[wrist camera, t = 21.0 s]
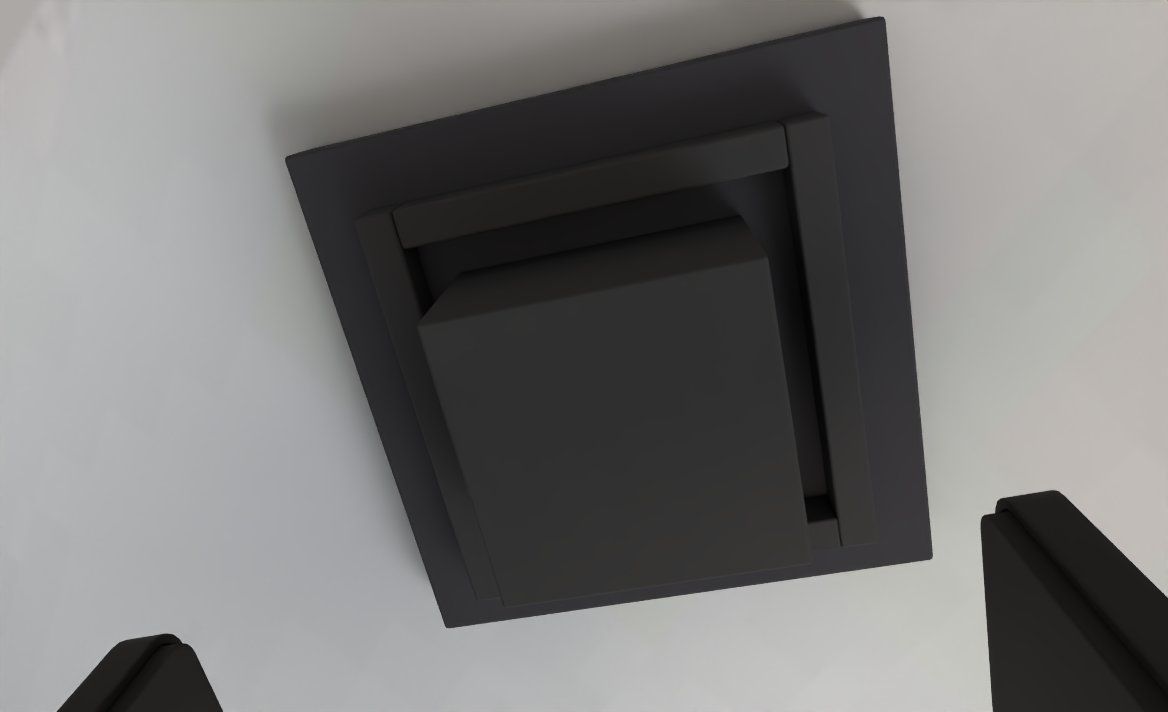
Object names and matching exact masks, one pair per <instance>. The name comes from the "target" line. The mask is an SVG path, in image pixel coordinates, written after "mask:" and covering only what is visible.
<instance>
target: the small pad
mask: <svg viewBox="0 0 1168 712" xmlns="http://www.w3.org/2000/svg"><path fill="white" fill-rule="evenodd" d="M417 329H418V333H419V336H420V339H421V342H422V346H423V349H424V352H425V355H426V358H427V362H428V365H429V368H430V371H431V375H432V378H433V381H434V384H435V387H436V391H437V394H438V397H439V400H440V403H441V407H442V410H443V413H444V416H445V420H446V423H447V426H448V429H449V432H450V436H451V439H452V442H453V445H454V449H455V452H456V455H457V458H458V461H459V465H460V468H461V471H462V474H463V478H464V481H465V484H466V487H467V490H468V494H469V497H470V500H471V503H472V507H473V510H474V513H475V516H476V519H477V523H478V526H479V529H480V532H481V536H482V539H483V542H484V545H485V548H486V552H487V555H488V558H489V561H490V564H491V568H492V571H493V574H494V577H495V581H496V584H497V587H498V590H499V593H500V597H501V600H502V603H503V606H504V607H505V608H510V607H517V606H524V605H531V604H538V603H545V602H552V601H559V600H566V599H573V598H580V597H586V596H593V595H600V594H607V593H614V592H621V591H628V590H635V589H642V588H649V587H656V586H662V585H669V584H676V583H683V582H690V581H697V580H704V579H711V578H718V577H725V576H731V575H738V574H745V573H752V572H759V571H766V570H773V569H780V568H787V567H794V566H801V565H807V564H811V563H812V560H813V557H812V550H811V544H810V537H809V530H808V524H807V517H806V510H805V503H804V497H803V490H802V483H801V476H800V470H799V463H798V456H797V449H796V443H795V436H794V429H793V422H792V416H791V409H790V402H789V396H788V389H787V382H786V375H785V369H784V362H783V355H782V348H781V342H780V335H779V328H778V321H777V315H776V308H775V301H774V294H773V288H772V281H771V274H770V268H769V261H768V257H767V256H766V254H765V252H764V251H763V249H762V248H761V246H760V244H759V243H758V241H757V240H756V238H755V236H754V235H753V233H752V232H751V230H750V228H749V227H748V225H747V224H746V222H745V220H744V219H743V217H742V216H741V215H737V216H732V217H727V218H722V219H717V220H712V221H708V222H703V223H698V224H693V225H688V226H683V227H679V228H674V229H669V230H664V231H659V232H654V233H650V234H645V235H640V236H635V237H630V238H625V239H620V240H616V241H611V242H606V243H601V244H596V245H591V246H587V247H582V248H577V249H572V250H567V251H562V252H558V253H553V254H548V255H543V256H538V257H533V258H529V259H524V260H519V261H514V262H509V263H504V264H500V265H495V266H490V267H485V268H480V269H475V270H471V271H466V272H461V273H459V274H458V275H457V277H456V278H455V279H454V280H453V282H452V283H451V284H450V285H449V286H448V288H447V289H446V290H445V291H444V292H443V294H442V295H441V296H440V297H439V299H438V300H437V301H436V302H435V303H434V305H433V306H432V307H431V308H430V310H429V311H428V312H427V313H426V314H425V316H424V317H423V318H422V319H421V320H420V322H419V323H418V324H417Z"/></svg>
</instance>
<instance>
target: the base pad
mask: <svg viewBox="0 0 1168 712" xmlns="http://www.w3.org/2000/svg"><path fill="white" fill-rule="evenodd" d="M285 162H286V165H287V168H288V171H289V173H290V176H291V179H292V182H293V185H294V188H295V191H296V194H297V197H298V200H299V203H300V205H301V208H302V211H303V214H304V217H305V220H306V223H307V226H308V229H309V232H310V235H311V237H312V240H313V243H314V246H315V249H316V252H317V255H318V258H319V261H320V264H321V266H322V269H323V272H324V275H325V278H326V281H327V284H328V287H329V290H330V293H331V296H332V298H333V301H334V304H335V307H336V310H337V313H338V316H339V319H340V322H341V325H342V327H343V330H344V333H345V336H346V339H347V342H348V345H349V348H350V351H351V354H352V357H353V359H354V362H355V365H356V368H357V371H358V374H359V377H360V380H361V383H362V386H363V389H364V391H365V394H366V397H367V400H368V403H369V406H370V409H371V412H372V415H373V418H374V420H375V423H376V426H377V429H378V432H379V435H380V438H381V441H382V444H383V447H384V450H385V452H386V455H387V458H388V461H389V464H390V467H391V470H392V473H393V476H394V479H395V481H396V484H397V487H398V490H399V493H400V496H401V499H402V502H403V505H404V508H405V511H406V513H407V516H408V519H409V522H410V525H411V528H412V531H413V534H414V537H415V540H416V543H417V545H418V548H419V551H420V554H421V557H422V560H423V563H424V566H425V569H426V572H427V574H428V577H429V580H430V583H431V586H432V589H433V592H434V595H435V598H436V601H437V604H438V606H439V609H440V612H441V615H442V618H443V621H444V624H445V627H446V628H455V627H462V626H469V625H476V624H483V623H490V622H497V621H504V620H511V619H518V618H525V617H532V616H539V615H546V614H553V613H560V612H567V611H574V610H581V609H588V608H595V607H602V606H609V605H616V604H623V603H630V602H637V601H644V600H651V599H658V598H665V597H672V596H679V595H686V594H693V593H700V592H707V591H714V590H721V589H728V588H735V587H742V586H749V585H756V584H763V583H770V582H777V581H784V580H791V579H798V578H805V577H812V576H819V575H826V574H833V573H840V572H847V571H854V570H861V569H868V568H875V567H882V566H889V565H896V564H903V563H910V562H917V561H924V560H930V559H932V557H933V553H932V541H931V530H930V519H929V507H928V496H927V485H926V473H925V462H924V451H923V440H922V428H921V417H920V406H919V394H918V383H917V372H916V361H915V349H914V338H913V327H912V315H911V304H910V293H909V281H908V270H907V259H906V248H905V236H904V225H903V214H902V202H901V191H900V180H899V169H898V157H897V146H896V135H895V123H894V112H893V101H892V89H891V78H890V67H889V56H888V44H887V33H886V22H885V19H884V17H880V16H879V17H873V18H866V19H862V20H857V21H853V22H849V23H845V24H840V25H836V26H832V27H828V28H823V29H819V30H815V31H811V32H806V33H802V34H798V35H794V36H790V37H785V38H781V39H777V40H773V41H768V42H764V43H760V44H756V45H751V46H747V47H743V48H739V49H734V50H730V51H726V52H722V53H717V54H713V55H709V56H705V57H700V58H696V59H692V60H688V61H683V62H679V63H675V64H671V65H666V66H662V67H658V68H654V69H649V70H645V71H641V72H637V73H633V74H628V75H624V76H620V77H616V78H611V79H607V80H603V81H599V82H594V83H590V84H586V85H582V86H577V87H573V88H569V89H565V90H560V91H556V92H552V93H548V94H543V95H539V96H535V97H531V98H526V99H522V100H518V101H514V102H509V103H505V104H501V105H497V106H493V107H488V108H484V109H480V110H476V111H471V112H467V113H463V114H459V115H454V116H450V117H446V118H442V119H437V120H433V121H429V122H425V123H420V124H416V125H412V126H408V127H403V128H399V129H395V130H391V131H386V132H382V133H378V134H374V135H369V136H365V137H361V138H357V139H352V140H348V141H344V142H340V143H336V144H331V145H327V146H323V147H319V148H314V149H310V150H306V151H303V152H299V153H296V154H292V155H289V156H287V157H286V158H285ZM737 215H741V216H742V217H743V219H744V220H745V222H746V224H747V225H748V227H749V228H750V230H751V232H752V233H753V235H754V236H755V238H756V240H757V241H758V243H759V244H760V246H761V248H762V249H763V251H764V252H765V254H766V256H767V257H768V261H769V268H770V274H771V281H772V288H773V294H774V301H775V308H776V315H777V321H778V328H779V335H780V342H781V348H782V355H783V362H784V369H785V375H786V382H787V389H788V396H789V402H790V409H791V416H792V422H793V429H794V436H795V443H796V449H797V456H798V463H799V470H800V476H801V483H802V490H803V497H804V503H805V510H806V517H807V524H808V530H809V537H810V544H811V550H812V557H813V560H812V563H811V564H807V565H801V566H794V567H787V568H780V569H773V570H766V571H759V572H752V573H745V574H738V575H731V576H725V577H718V578H711V579H704V580H697V581H690V582H683V583H676V584H669V585H662V586H656V587H649V588H642V589H635V590H628V591H621V592H614V593H607V594H600V595H593V596H586V597H580V598H573V599H566V600H559V601H552V602H545V603H538V604H531V605H524V606H517V607H510V608H505V607H504V606H503V603H502V600H501V597H500V593H499V590H498V587H497V584H496V581H495V577H494V574H493V571H492V568H491V564H490V561H489V558H488V555H487V552H486V548H485V545H484V542H483V539H482V536H481V532H480V529H479V526H478V523H477V519H476V516H475V513H474V510H473V507H472V503H471V500H470V497H469V494H468V490H467V487H466V484H465V481H464V478H463V474H462V471H461V468H460V465H459V461H458V458H457V455H456V452H455V449H454V445H453V442H452V439H451V436H450V432H449V429H448V426H447V423H446V420H445V416H444V413H443V410H442V407H441V403H440V400H439V397H438V394H437V391H436V387H435V384H434V381H433V378H432V375H431V371H430V368H429V365H428V362H427V358H426V355H425V352H424V349H423V346H422V342H421V339H420V336H419V333H418V329H417V324H418V323H419V322H420V320H421V319H422V318H423V317H424V316H425V314H426V313H427V312H428V311H429V310H430V308H431V307H432V306H433V305H434V303H435V302H436V301H437V300H438V299H439V297H440V296H441V295H442V294H443V292H444V291H445V290H446V289H447V288H448V286H449V285H450V284H451V283H452V282H453V280H454V279H455V278H456V277H457V275H458V274H459V273H461V272H466V271H471V270H475V269H480V268H485V267H490V266H495V265H500V264H504V263H509V262H514V261H519V260H524V259H529V258H533V257H538V256H543V255H548V254H553V253H558V252H562V251H567V250H572V249H577V248H582V247H587V246H591V245H596V244H601V243H606V242H611V241H616V240H620V239H625V238H630V237H635V236H640V235H645V234H650V233H654V232H659V231H664V230H669V229H674V228H679V227H683V226H688V225H693V224H698V223H703V222H708V221H712V220H717V219H722V218H727V217H732V216H737Z"/></svg>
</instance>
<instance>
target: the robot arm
mask: <svg viewBox="0 0 1168 712" xmlns="http://www.w3.org/2000/svg"><path fill="white" fill-rule="evenodd" d="M981 541H982V556H983V572H984V587H985V602H986V617H987V632H988V647H989V662H990V677H991V692H992V706H993V712H1168V598H1167V597H1166V596H1165V595H1164V594H1163V593H1162V592H1161V591H1160V590H1159V589H1158V588H1157V587H1156V586H1155V585H1154V584H1153V583H1152V582H1151V581H1150V580H1149V579H1148V578H1147V577H1146V576H1145V575H1144V574H1143V573H1142V572H1141V571H1140V570H1139V569H1138V568H1137V567H1136V566H1135V565H1134V564H1133V563H1132V562H1131V561H1130V560H1129V559H1128V558H1127V557H1126V556H1125V555H1124V554H1123V553H1122V552H1121V551H1120V550H1119V549H1118V548H1117V547H1116V546H1115V545H1114V544H1113V543H1112V542H1111V541H1110V540H1109V539H1108V538H1107V537H1106V536H1105V535H1104V534H1103V533H1102V532H1100V531H1099V530H1098V529H1097V528H1096V527H1095V526H1094V525H1093V524H1092V523H1091V522H1090V521H1089V520H1088V519H1087V518H1086V517H1085V516H1084V515H1083V514H1082V513H1081V512H1080V511H1079V510H1078V509H1077V508H1076V507H1075V506H1074V505H1073V504H1072V503H1071V502H1070V501H1069V500H1068V499H1067V498H1066V497H1065V496H1064V495H1063V494H1061V493H1060V492H1059V491H1055V490H1050V491H1044V492H1038V493H1032V494H1026V495H1019V496H1013V497H1007V498H1001V499H1000V500H999V501H997V505H996V508H995V513H994V514H988V515H984V516H983V517H982V519H981ZM57 712H223V710H222V708H221V706H220V704H219V702H218V700H217V698H216V695H215V693H214V691H213V689H212V687H211V685H210V683H209V681H208V679H207V677H206V674H205V672H204V670H203V668H202V666H201V664H200V662H199V660H198V658H197V655H196V653H195V652H194V650H193V649H192V647H191V646H189V645H188V644H183V643H182V642H181V641H180V639H179V638H177V637H176V636H175V635H173V634H160V635H154V636H148V637H142V638H135V639H129V640H125V641H122V642H119V643H118V644H117V645H116V646H115V647H113V648H112V649H111V650H110V651H109V653H108V654H107V655H106V656H105V657H104V658H103V659H102V661H101V662H100V663H99V664H98V665H97V666H96V667H95V669H94V670H93V671H92V672H91V673H90V674H89V675H88V677H87V678H86V679H85V680H84V681H83V682H82V683H81V685H80V686H79V687H78V688H77V689H76V690H75V691H74V693H73V694H72V695H71V696H70V697H69V698H68V699H67V701H66V702H65V703H64V704H63V705H62V706H61V707H60V709H59V710H58V711H57Z"/></svg>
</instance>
